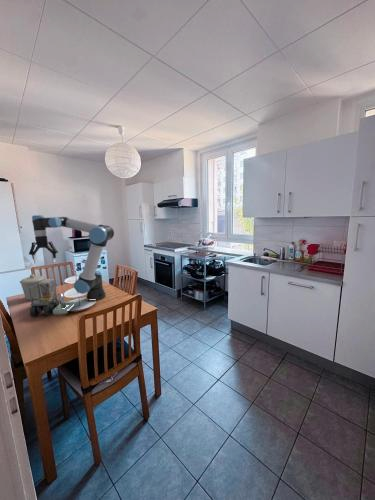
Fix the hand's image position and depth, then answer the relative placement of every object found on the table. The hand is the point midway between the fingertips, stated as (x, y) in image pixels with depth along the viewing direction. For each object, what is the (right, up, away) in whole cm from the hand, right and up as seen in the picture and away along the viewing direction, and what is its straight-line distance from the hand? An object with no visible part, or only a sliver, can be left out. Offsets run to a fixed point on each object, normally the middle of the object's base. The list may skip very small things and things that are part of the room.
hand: (45, 262), depth 165 cm
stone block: (+1, -34, +5) cm, 34 cm away
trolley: (+7, -36, -9) cm, 38 cm away
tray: (+19, -35, -6) cm, 40 cm away
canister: (-21, -32, +20) cm, 43 cm away
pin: (+19, -34, -7) cm, 39 cm away
